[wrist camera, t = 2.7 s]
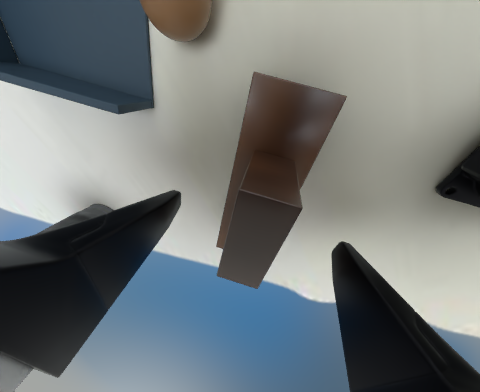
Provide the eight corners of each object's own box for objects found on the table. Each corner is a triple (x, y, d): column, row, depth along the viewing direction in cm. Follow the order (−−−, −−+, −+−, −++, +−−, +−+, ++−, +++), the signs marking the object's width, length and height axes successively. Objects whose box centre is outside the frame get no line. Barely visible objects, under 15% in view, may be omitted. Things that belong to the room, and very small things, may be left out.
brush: (333, 93, 10) (407, 109, 4) (265, 240, 17) (257, 319, 12) (259, 73, 10) (229, 61, 4) (223, 227, 17) (195, 298, 12)
